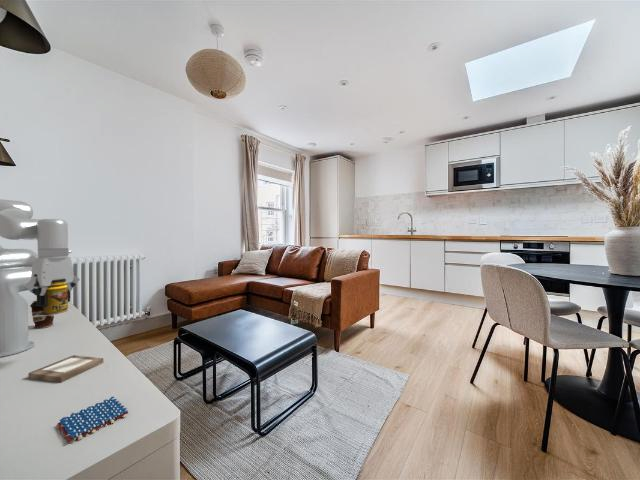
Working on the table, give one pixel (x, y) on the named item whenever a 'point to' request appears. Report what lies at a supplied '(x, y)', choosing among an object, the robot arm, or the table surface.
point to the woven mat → (91, 419)
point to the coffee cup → (41, 317)
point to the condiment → (56, 299)
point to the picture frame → (65, 368)
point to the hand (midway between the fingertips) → (54, 303)
